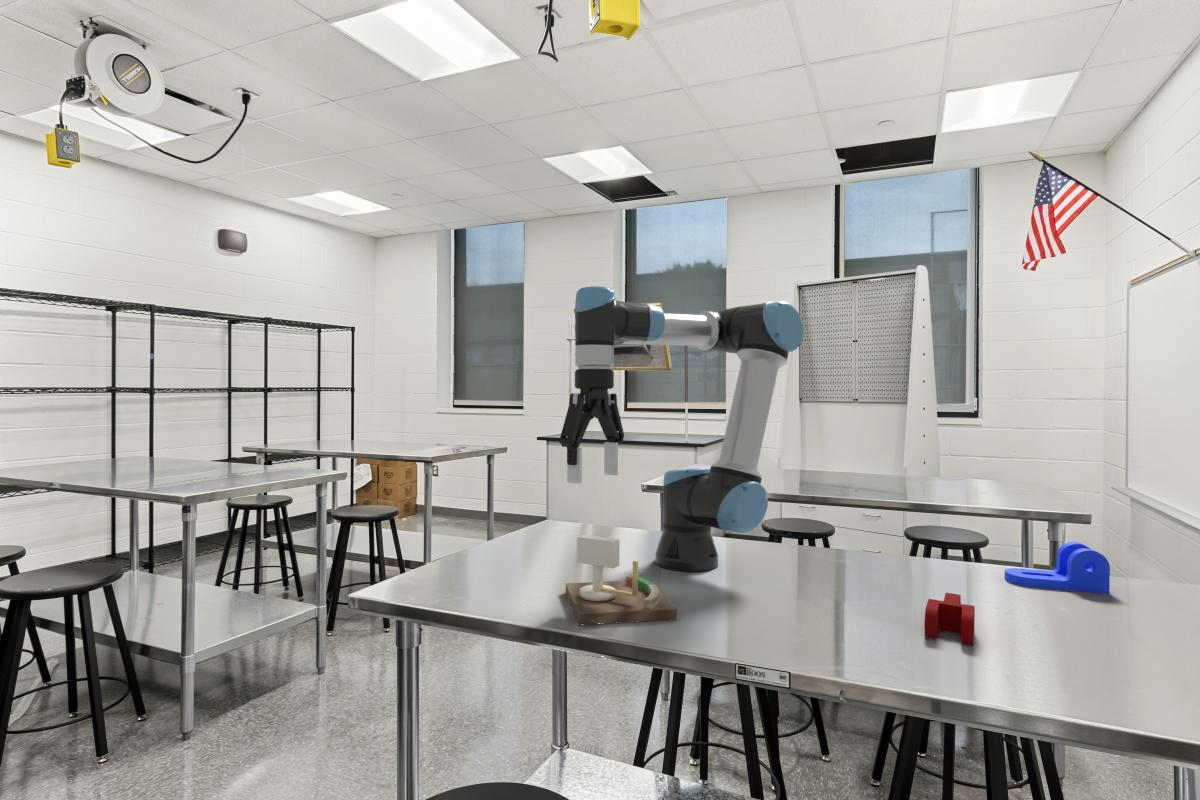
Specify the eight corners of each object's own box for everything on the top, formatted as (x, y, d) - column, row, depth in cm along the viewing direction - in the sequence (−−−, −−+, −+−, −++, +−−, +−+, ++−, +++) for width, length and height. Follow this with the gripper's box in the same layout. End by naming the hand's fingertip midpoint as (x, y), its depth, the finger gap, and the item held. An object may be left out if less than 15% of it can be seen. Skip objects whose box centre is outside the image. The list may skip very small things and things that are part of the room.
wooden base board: (650, 589, 134) (650, 572, 134) (676, 619, 116) (676, 600, 116) (565, 593, 131) (565, 576, 131) (578, 625, 112) (578, 605, 112)
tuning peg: (589, 587, 127) (589, 532, 127) (645, 597, 121) (646, 540, 121) (570, 596, 121) (570, 539, 121) (628, 608, 115) (629, 547, 115)
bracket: (1092, 583, 142) (1092, 543, 142) (1109, 594, 134) (1110, 552, 134) (999, 575, 147) (1000, 537, 147) (1011, 586, 139) (1011, 545, 139)
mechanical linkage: (973, 650, 104) (973, 619, 104) (924, 640, 108) (924, 611, 108) (975, 620, 117) (975, 593, 117) (931, 613, 121) (932, 587, 121)
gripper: (609, 370, 135) (608, 470, 135) (540, 366, 113) (539, 484, 114) (641, 370, 131) (640, 473, 131) (575, 365, 110) (575, 488, 110)
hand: (593, 478), depth 122 cm, fingers open, 13 cm apart
